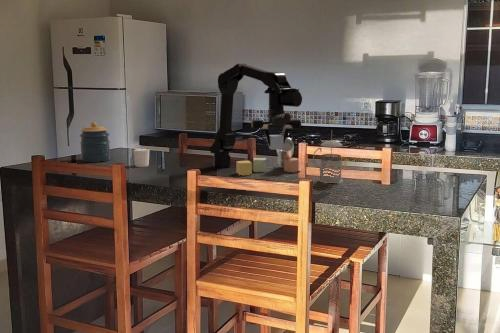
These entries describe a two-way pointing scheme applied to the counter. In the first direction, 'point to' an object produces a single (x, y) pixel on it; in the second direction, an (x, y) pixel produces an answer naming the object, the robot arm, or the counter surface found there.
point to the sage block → (259, 165)
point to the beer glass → (285, 151)
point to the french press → (330, 162)
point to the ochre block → (244, 167)
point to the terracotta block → (291, 165)
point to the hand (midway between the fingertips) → (276, 145)
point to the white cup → (141, 157)
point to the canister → (94, 144)
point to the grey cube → (276, 142)
